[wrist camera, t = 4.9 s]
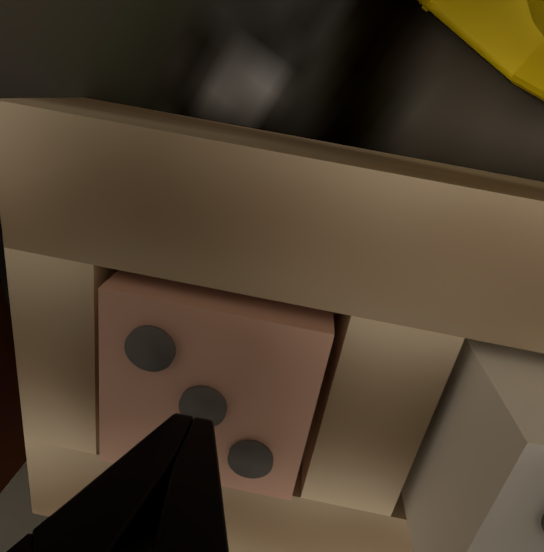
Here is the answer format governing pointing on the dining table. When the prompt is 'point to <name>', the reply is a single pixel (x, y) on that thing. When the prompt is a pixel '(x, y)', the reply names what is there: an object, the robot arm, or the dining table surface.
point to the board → (261, 289)
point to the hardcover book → (9, 402)
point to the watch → (500, 35)
